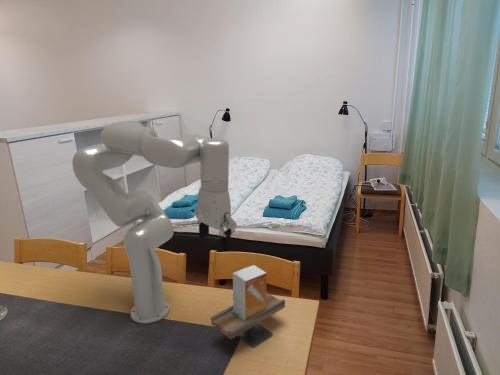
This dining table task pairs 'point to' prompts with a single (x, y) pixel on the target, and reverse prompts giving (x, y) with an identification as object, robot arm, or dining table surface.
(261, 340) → the pivot stand
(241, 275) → the small box
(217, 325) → the brown flat channel
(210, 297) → the dining table surface
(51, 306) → the dining table surface
